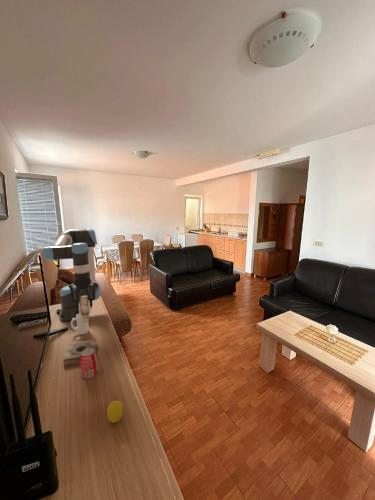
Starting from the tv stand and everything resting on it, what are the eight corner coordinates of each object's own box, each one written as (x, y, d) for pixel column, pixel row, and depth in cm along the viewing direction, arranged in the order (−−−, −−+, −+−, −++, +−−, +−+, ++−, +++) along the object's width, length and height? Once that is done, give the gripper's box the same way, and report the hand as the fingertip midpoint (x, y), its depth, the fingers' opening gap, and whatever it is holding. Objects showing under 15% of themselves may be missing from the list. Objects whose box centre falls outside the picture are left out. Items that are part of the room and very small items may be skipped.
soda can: (91, 367, 104) (89, 345, 102) (100, 372, 101) (99, 349, 99) (78, 376, 98) (76, 353, 96) (87, 382, 95) (85, 358, 93)
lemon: (105, 420, 77) (103, 402, 76) (119, 411, 81) (118, 393, 79) (111, 431, 73) (110, 412, 72) (126, 421, 77) (125, 402, 76)
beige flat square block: (69, 349, 118) (69, 343, 117) (96, 344, 122) (96, 339, 122) (63, 366, 105) (63, 359, 104) (94, 360, 109) (93, 354, 109)
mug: (88, 328, 140) (87, 311, 138) (89, 332, 134) (88, 315, 132) (71, 332, 135) (69, 314, 133) (72, 337, 129) (70, 319, 127)
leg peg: (82, 320, 117) (80, 296, 115) (90, 318, 118) (88, 295, 116) (81, 323, 113) (79, 298, 111) (89, 322, 115) (87, 297, 113)
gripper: (62, 275, 105) (66, 318, 109) (98, 272, 111) (101, 313, 115) (65, 271, 112) (69, 312, 116) (99, 269, 118) (102, 308, 122)
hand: (85, 313), depth 115 cm, fingers closed on leg peg, 4 cm apart
